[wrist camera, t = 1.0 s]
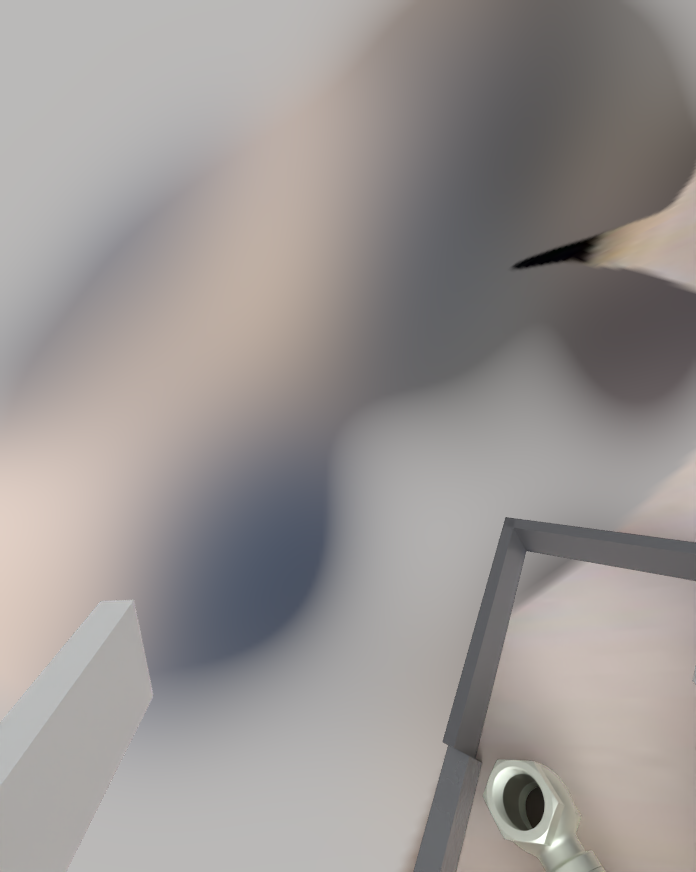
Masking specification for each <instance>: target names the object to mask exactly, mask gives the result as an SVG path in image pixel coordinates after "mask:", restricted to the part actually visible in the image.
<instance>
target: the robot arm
mask: <svg viewBox="0 0 696 872" xmlns="http://www.w3.org/2000/svg"><path fill="white" fill-rule="evenodd" d="M692 681H693V682H694V683H695V684H696V667H695V671H694V676H693V680H692ZM152 698H153V691H152V686H151V681H150V676H149V671H148V666H147V661H146V657H145V652H144V646H143V642H142V637H141V632H140V627H139V622H138V617H137V612H136V607H135V602H134V600H117V601H100V603H99V604H98V605H97V606H96V608H95V609H94V610H93V611H92V612H91V614H90V615H89V616H88V617H87V618H86V620H85V621H84V622H83V623H82V624H81V626H80V627H79V628H78V629H77V630H76V632H75V633H74V634H73V635H72V636H71V638H70V639H69V640H68V641H67V643H66V644H65V645H64V646H63V647H62V648H61V650H60V651H59V652H58V653H57V655H56V656H55V657H54V658H53V659H52V661H51V662H50V663H49V664H48V665H47V667H46V668H45V669H44V670H43V671H42V673H41V674H40V675H39V676H38V678H37V679H36V680H35V681H34V682H33V684H32V685H31V686H30V687H29V688H28V690H27V691H26V692H25V693H24V694H23V696H22V697H21V698H20V699H19V701H18V702H17V703H16V704H15V705H14V707H13V708H12V709H11V710H10V711H9V712H8V714H7V715H6V716H5V717H4V719H3V720H2V721H1V722H0V872H66V871H67V869H68V867H69V865H70V863H71V861H72V859H73V857H74V855H75V853H76V851H77V849H78V847H79V845H80V843H81V841H82V839H83V837H84V835H85V833H86V831H87V829H88V827H89V825H90V823H91V821H92V819H93V817H94V815H95V813H96V811H97V808H98V807H99V805H100V803H101V801H102V799H103V797H104V794H105V792H106V790H107V788H108V786H109V784H110V782H111V780H112V778H113V776H114V774H115V772H116V770H117V768H118V766H119V764H120V762H121V760H122V758H123V756H124V754H125V752H126V750H127V748H128V746H129V744H130V742H131V740H132V738H133V736H134V734H135V732H136V730H137V728H138V726H139V724H140V722H141V720H142V718H143V716H144V714H145V712H146V710H147V708H148V706H149V704H150V702H151V700H152Z"/></svg>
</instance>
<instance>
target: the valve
mask: <svg viewBox="0 0 696 872" xmlns="http://www.w3.org/2000/svg"><path fill="white" fill-rule="evenodd" d="M536 787H540V789H541V791H542V793H543V797H544V802H545V809H544V814H543V817H542V819H541V821H540V823H539V824H538V825H537V826H536V827H535V828H532V826H531V825H530V823H529V821H528V818H527V815H526V808H525V806H526V799H527V796H528V794H529V793H530V792H531V791H532V790H533V789H534V788H536ZM483 797H484V799H485V802H486V804H487V806H488V808H489V810H490V812H491V814H492V817H493V818H494V820H495V822H496V824H497V826H498V828H499V830H500V832H501V834H502V836H503V837H504V839H506V840H510V841H513V842H514V843H515V844H516V845H517V846H519V847H520V848H521V849H523V850H524V851H526V852H528V853H530V854H532V855H535V856H536V857H538V858H539V860H540V862H541V863H542V865H543V867H544V869H545V871H546V872H605V870H604V868H603V867H602V865H601V863H600V862H599V860H598V858H597V857H596V855H595V854H594V852H593V851H585V849H584V848H583V846H582V844H581V843H580V841H579V840H578V838H577V836H576V832H577V829H578V826H579V823H580V820H581V814H580V812H579V811H578V809H577V807H576V806H575V804H574V803H573V800H572V797H571V795H570V793H569V791H568V789H567V787H566V786H565V784H564V783H563V781H562V780H561V779H560V778H559V777H558V776H557V775H556V774H555V773H554V772H553V771H552V770H551V769H549V768H548V767H546V766H544V765H543V764H540V763H538V762H535V761H530V760H502V759H497V761H496V763H495V765H494V768H493V770H492V772H491V774H490V777H489V779H488V782H487V785H486V788H485V791H484V794H483Z"/></svg>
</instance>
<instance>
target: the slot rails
mask: <svg viewBox="0 0 696 872" xmlns="http://www.w3.org/2000/svg"><path fill="white" fill-rule="evenodd" d="M481 765H482V763H481V762H480V761H478V760H476V759H474V758H472V757H471V756H469V755H467V754H465V753H463V752H461V751H459V750H457V749H455V748H453V747H451V746H449V745H448V748H447V752H446V755H445V759H444V763H443V766H442V770H441V773H440V777H439V781H438V784H437V788H436V792H435V795H434V799H433V803H432V806H431V810H430V814H429V817H428V821H427V824H426V828H425V832H424V835H423V839H422V843H421V846H420V850H419V854H418V857H417V861H416V864H415V868H414V872H456V869H457V865H458V861H459V856H460V852H461V848H462V844H463V840H464V836H465V831H466V827H467V823H468V819H469V815H470V811H471V806H472V802H473V798H474V794H475V790H476V785H477V781H478V777H479V773H480V769H481Z"/></svg>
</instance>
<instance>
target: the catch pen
mask: <svg viewBox="0 0 696 872" xmlns="http://www.w3.org/2000/svg"><path fill="white" fill-rule="evenodd" d="M526 551H530V552H536V553H542V554H547V555H553V556H558V557H564V558H570V559H575V560H581V561H587V562H592V563H598V564H604V565H609V566H615V567H621V568H626V569H632V570H638V571H643V572H649V573H655V574H660V575H666V576H672V577H677V578H683V579H689V580H694V581H696V543H695V542H688V541H680V540H673V539H665V538H658V537H650V536H642V535H635V534H627V533H620V532H612V531H605V530H597V529H589V528H582V527H575V526H567V525H560V524H552V523H544V522H537V521H530V520H522V519H514V518H507V517H506V518H505V521H504V525H503V529H502V532H501V536H500V539H499V543H498V546H497V550H496V553H495V557H494V561H493V564H492V568H491V571H490V575H489V578H488V582H487V586H486V589H485V593H484V596H483V600H482V603H481V607H480V611H479V614H478V618H477V621H476V625H475V628H474V632H473V635H472V639H471V643H470V646H469V650H468V653H467V657H466V660H465V664H464V667H463V671H462V675H461V678H460V682H459V686H458V689H457V692H456V696H455V700H454V703H453V707H452V710H451V714H450V717H449V721H448V724H447V728H446V732H445V735H444V739H443V742H444V743H445V744H447V745H449V746H451V747H453V748H455V749H457V750H459V751H461V752H463V753H465V754H467V755H469V756H471V757H472V758H474V759H475V757H476V753H477V749H478V745H479V741H480V737H481V733H482V728H483V724H484V720H485V716H486V712H487V708H488V704H489V700H490V696H491V692H492V688H493V684H494V680H495V676H496V672H497V668H498V664H499V660H500V655H501V651H502V647H503V643H504V639H505V635H506V631H507V627H508V623H509V619H510V615H511V611H512V607H513V603H514V599H515V595H516V591H517V587H518V582H519V578H520V574H521V570H522V566H523V562H524V558H525V554H526Z"/></svg>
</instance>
